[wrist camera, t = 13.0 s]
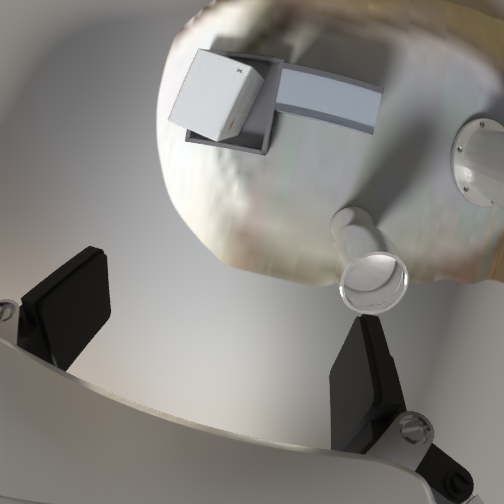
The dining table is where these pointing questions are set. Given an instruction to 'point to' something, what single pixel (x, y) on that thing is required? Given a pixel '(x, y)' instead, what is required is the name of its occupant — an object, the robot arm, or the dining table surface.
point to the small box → (216, 96)
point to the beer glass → (366, 263)
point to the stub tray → (262, 111)
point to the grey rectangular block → (328, 98)
